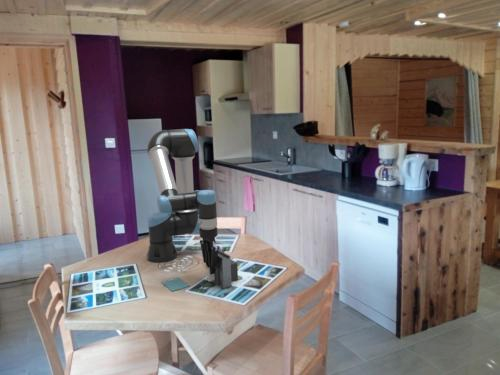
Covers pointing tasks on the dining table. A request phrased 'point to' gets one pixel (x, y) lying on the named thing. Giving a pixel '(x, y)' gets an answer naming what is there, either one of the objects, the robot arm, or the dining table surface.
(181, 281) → the mat
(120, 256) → the dining table surface
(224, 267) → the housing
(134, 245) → the dining table surface
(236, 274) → the plug
